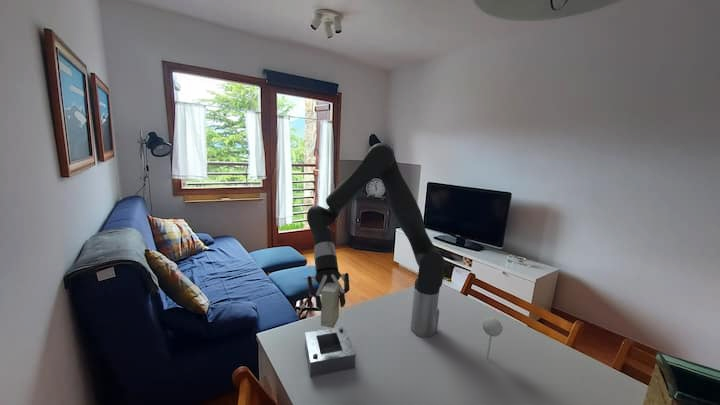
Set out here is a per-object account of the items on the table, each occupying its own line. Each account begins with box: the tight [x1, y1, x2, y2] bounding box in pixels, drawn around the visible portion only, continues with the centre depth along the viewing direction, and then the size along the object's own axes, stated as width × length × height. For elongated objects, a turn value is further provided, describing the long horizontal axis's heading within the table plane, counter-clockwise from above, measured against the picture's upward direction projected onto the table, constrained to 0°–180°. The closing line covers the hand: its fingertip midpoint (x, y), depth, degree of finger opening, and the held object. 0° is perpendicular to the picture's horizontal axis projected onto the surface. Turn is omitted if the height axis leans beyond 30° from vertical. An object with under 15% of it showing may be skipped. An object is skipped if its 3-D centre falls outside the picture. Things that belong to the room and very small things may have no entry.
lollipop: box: [481, 316, 504, 360], centre depth 93 cm, size 6×6×15 cm
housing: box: [304, 326, 357, 378], centre depth 91 cm, size 14×14×5 cm
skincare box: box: [320, 283, 341, 329], centre depth 88 cm, size 6×4×12 cm
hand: (331, 307), depth 86 cm, fingers closed on skincare box, 6 cm apart
